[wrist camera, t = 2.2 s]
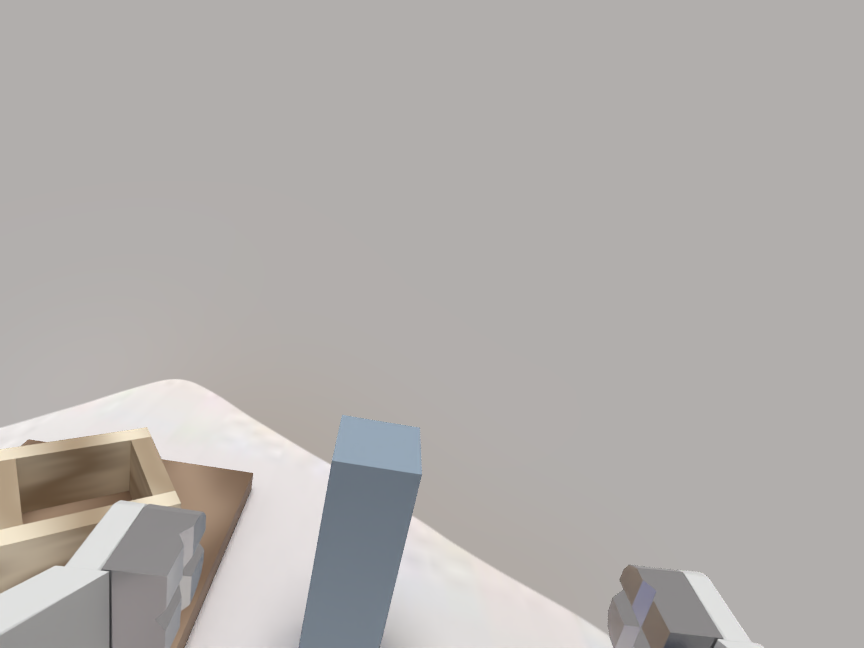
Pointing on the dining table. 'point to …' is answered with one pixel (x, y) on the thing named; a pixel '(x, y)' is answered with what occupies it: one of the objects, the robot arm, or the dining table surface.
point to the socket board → (106, 502)
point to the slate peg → (362, 533)
